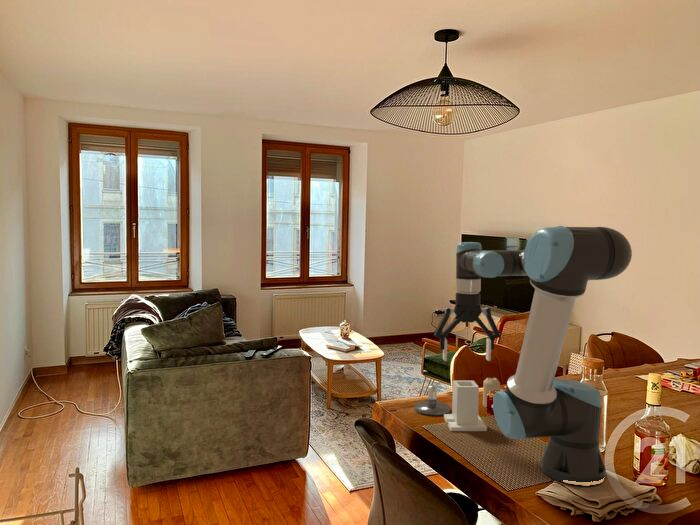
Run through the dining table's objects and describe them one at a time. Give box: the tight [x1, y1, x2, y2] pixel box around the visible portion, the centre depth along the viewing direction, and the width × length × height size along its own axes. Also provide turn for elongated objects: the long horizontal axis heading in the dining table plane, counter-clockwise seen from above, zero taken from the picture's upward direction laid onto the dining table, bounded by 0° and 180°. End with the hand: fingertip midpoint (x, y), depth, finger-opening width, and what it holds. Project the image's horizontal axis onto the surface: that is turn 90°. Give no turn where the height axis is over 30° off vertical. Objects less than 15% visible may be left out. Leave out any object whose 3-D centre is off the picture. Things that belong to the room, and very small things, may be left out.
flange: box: [443, 380, 488, 432], centre depth 165 cm, size 11×11×13 cm
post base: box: [413, 384, 451, 417], centre depth 178 cm, size 12×12×8 cm
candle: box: [482, 377, 501, 409], centre depth 182 cm, size 6×6×10 cm
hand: (466, 359), depth 165 cm, fingers open, 13 cm apart
